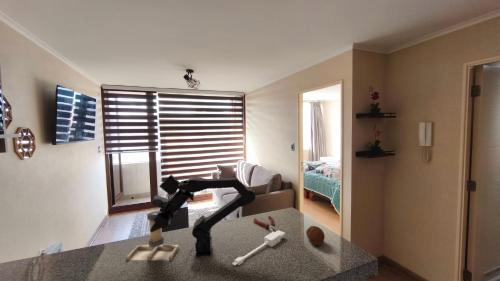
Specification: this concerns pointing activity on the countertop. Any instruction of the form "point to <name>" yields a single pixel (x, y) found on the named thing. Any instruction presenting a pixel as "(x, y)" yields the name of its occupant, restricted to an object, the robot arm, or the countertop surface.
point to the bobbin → (156, 235)
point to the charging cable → (269, 240)
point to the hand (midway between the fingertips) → (152, 228)
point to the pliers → (266, 226)
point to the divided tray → (153, 252)
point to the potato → (315, 235)
